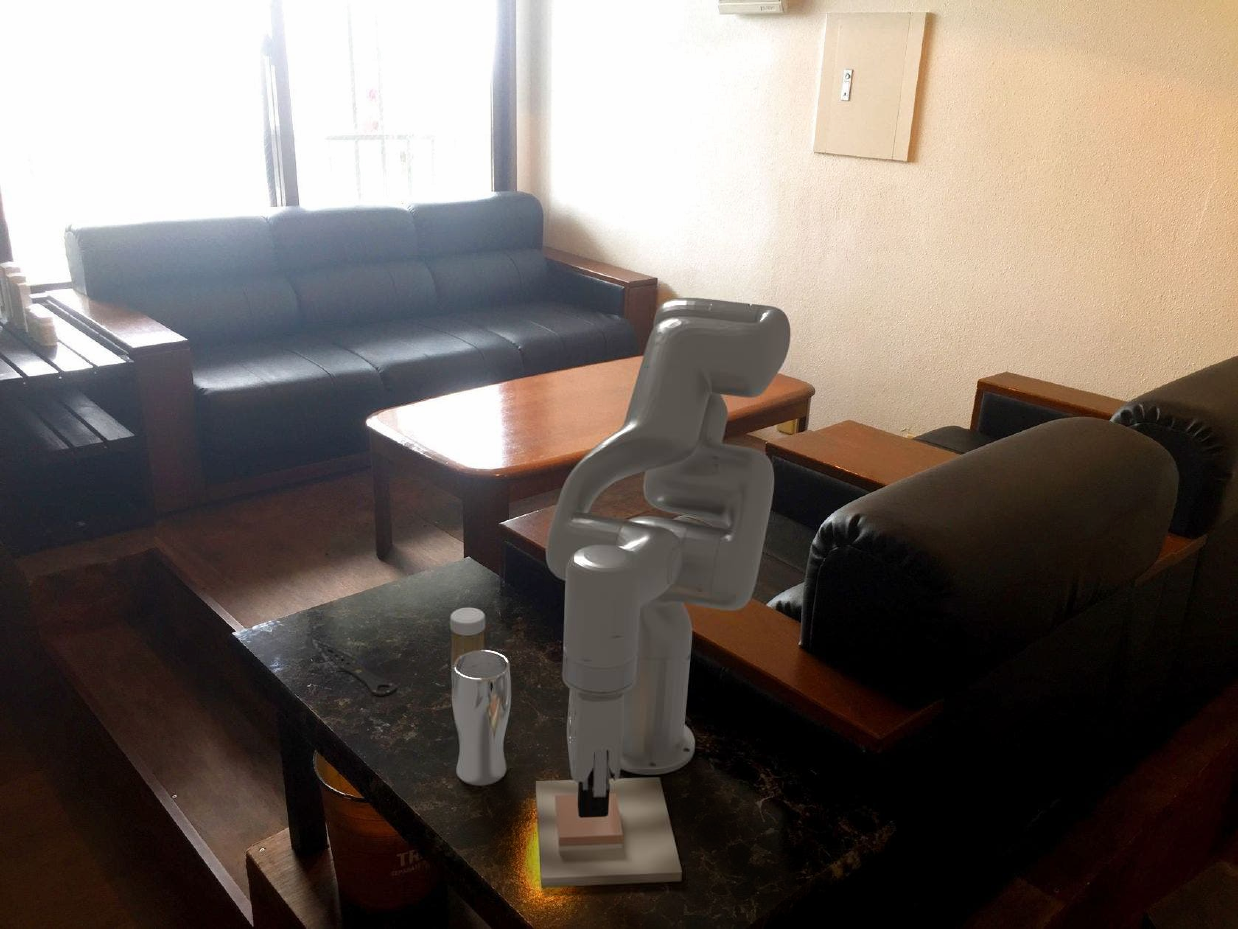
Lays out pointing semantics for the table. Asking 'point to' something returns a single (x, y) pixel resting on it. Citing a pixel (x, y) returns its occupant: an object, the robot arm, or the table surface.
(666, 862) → the board
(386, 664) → the table surface
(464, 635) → the sprinkles bottle
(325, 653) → the throwing knife
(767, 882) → the table surface
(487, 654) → the beer glass
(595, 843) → the tile
